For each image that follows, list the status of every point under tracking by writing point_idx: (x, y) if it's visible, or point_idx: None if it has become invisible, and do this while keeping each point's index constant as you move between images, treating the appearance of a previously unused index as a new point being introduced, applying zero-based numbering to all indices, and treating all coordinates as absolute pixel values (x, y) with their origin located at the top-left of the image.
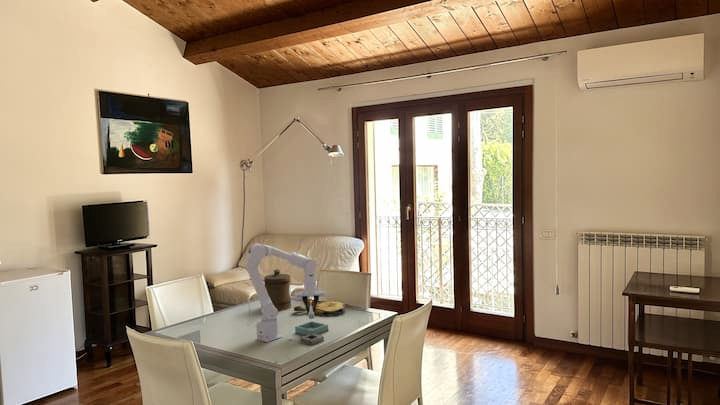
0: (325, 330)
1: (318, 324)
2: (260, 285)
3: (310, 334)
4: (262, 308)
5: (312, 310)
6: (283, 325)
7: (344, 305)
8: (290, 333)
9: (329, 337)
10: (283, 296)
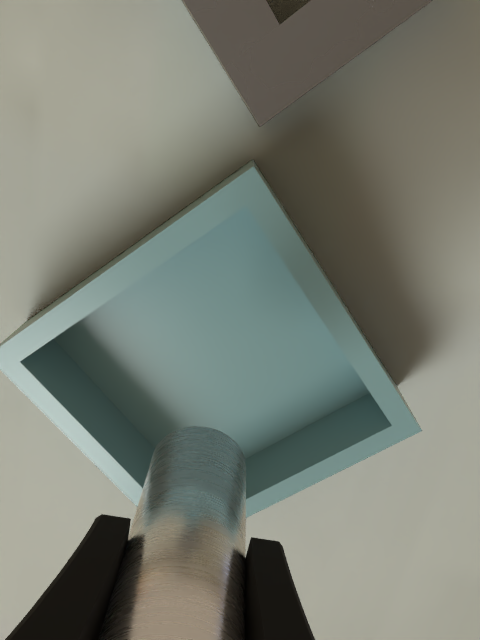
0: (53, 302)
1: (114, 444)
2: None
3: (290, 78)
4: None
5: (152, 553)
6: (428, 617)
7: None
8: (451, 391)
9: (21, 39)
10: None
